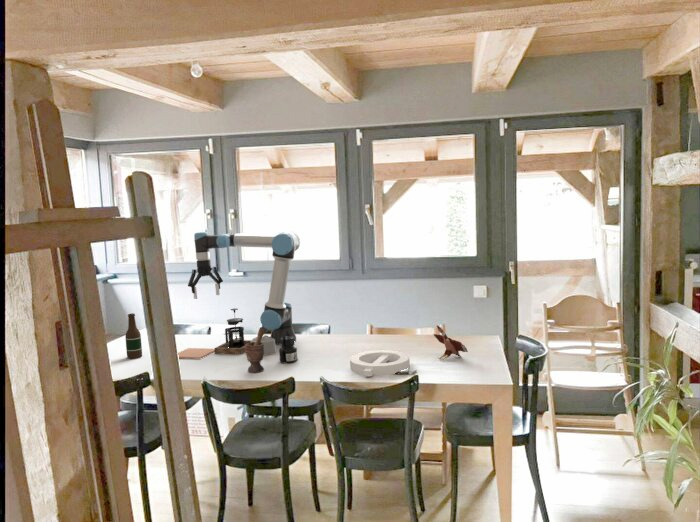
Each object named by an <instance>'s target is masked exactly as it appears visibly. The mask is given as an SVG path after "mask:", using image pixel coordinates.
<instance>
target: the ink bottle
mask: <svg viewBox="0 0 700 522" xmlns="http://www.w3.org/2000/svg"><path fill="white" fill-rule="evenodd" d="M295 342H296V341H295ZM295 342H294V337H291V336H287V337H282V338H281V344H280V347H279V349H278V352H279V353H278V354H279V362H280V363H282V364H293V363H296V362H297V361H298V348H297V346H296V345H295Z"/></svg>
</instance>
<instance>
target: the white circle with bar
mask: <svg viewBox="0 0 700 522" xmlns="http://www.w3.org/2000/svg"><path fill="white" fill-rule="evenodd" d="M410 362H411V361H410V355H409V354H408V353H406V352H402V351H397V350H390V349H389V350H388V349H384V350H383V349H382V350H379V349H378V350H377V349H376V350H367V351H362V352H359V353H355V354H353V355H352V356H350V357H349V369H350V370H351V372H353V373H355V374H358V375H362V376H363V377H375V376H376V377H383V376H391V375H396V374H395V373H396V372H398V371H401V370H404V369H407V368H409V369H410V365H411V364H410Z"/></svg>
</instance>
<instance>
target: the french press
mask: <svg viewBox="0 0 700 522" xmlns="http://www.w3.org/2000/svg"><path fill="white" fill-rule="evenodd" d="M230 310H231V311H233V315H234V318H228V319H227V320H226V322H227V325H230V326H231V327H227V328H225V329H224V333H225V343H226V344H228V346H229V348H241V347H243V346H245V343H244V340H245V336H244V334H245V333H244V331H245V327H244V326H236V325H239V323H243V321H244V318H242V317H240V318H239V317H236V311H238V310H239V308H230ZM234 333H238V336H237V335H235V336H234ZM228 341H229V343H228ZM233 341H239V342H233Z"/></svg>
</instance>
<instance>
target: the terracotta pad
mask: <svg viewBox="0 0 700 522" xmlns="http://www.w3.org/2000/svg"><path fill="white" fill-rule="evenodd" d="M213 352H214V353H215V348H206V347H205V348H204V347H203V348H198V347H196V348H195V347H187V348H185V349H184V350H181V351H179V352H177V353H178V355H179V359H180V358H202V359H204V358H206V357H208V356H210V355H212V354H214V353H213ZM211 353H212V354H211ZM209 354H210V355H209ZM207 355H208V356H207ZM205 356H206V357H205ZM203 357H204V358H203ZM179 359H178V360H179ZM180 360H181V359H180Z"/></svg>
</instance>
